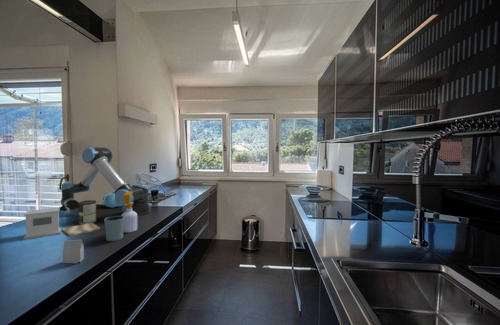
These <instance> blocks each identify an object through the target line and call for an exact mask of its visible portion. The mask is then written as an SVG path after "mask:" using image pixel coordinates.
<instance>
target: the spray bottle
mask: <svg viewBox="0 0 500 325" xmlns="http://www.w3.org/2000/svg"><path fill="white" fill-rule="evenodd" d="M132 193H133V192H126V193H125V194H124V195H123V203H124V204H126V208H125V209H126V210H125V211H124V212H123V213H122V214H121V215H120V216H124V227H123V228H124V229H123V233H133V232H135V231H137V230H138V215H137V213H136V212H134V211H132V203H134V202H130V195H131V194H132Z"/></svg>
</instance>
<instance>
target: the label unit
mask: <svg viewBox="0 0 500 325" xmlns="http://www.w3.org/2000/svg"><path fill="white" fill-rule="evenodd" d="M23 215H24V217H25V234H24V236H23V240H24V241H27V240H32V238H33V239H38V237H39V238H44V237H45V236H46V237H51V236H56V235H58V236H59V235H61V233H62V227H60V207H54V208H53V207H51V208H44V209H33V210H32V209H31V210H27V211H26V212H25V213H24V214H23ZM26 239H27V240H26Z"/></svg>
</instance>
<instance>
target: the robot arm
mask: <svg viewBox="0 0 500 325" xmlns="http://www.w3.org/2000/svg"><path fill="white" fill-rule="evenodd" d="M81 158H82V161H83V162H84V163H86V164H90V165H91V167H90V169H89V170H88V171H87V173H86V174H85V175H84V177H82V179H81V180H80V182H79V183H73V182H69V181H68V182H62V184H61V199H60V204H61V206H60V207H59V208H60V210H59V212H62V211H63V213H65V212H66V213H70V210H76V209H78V208H79V204H78V203H79V201H78V200H76V199H75V198H74V197H75V196H74V194H78V193H83V192H88V191H90V190H91V188H92V186H91V185H92V184H93V182H94V181H95V179H96V178H97V177H98V176H99V175H100V173H101V175H102V176H103V178H105V180H106V181H107V182H108V184H109V185H110V186H111V188H113V190H114V191H115V192H114V193H115V200H116V201H117V202H118V203H119V204H121V205H122V206H125V205H126V206H127V204H124V203H123V195H124V194H125V193H126V192H133V193H132V194H131V195H130V202H134V203H132V205H131V207H132V211H134V212H136V213H137V216H142V215H147V214H150V213H151V212H152V211H151V207H150V203H149V186H148V185H147V184H132V185H131V184H130V183H129V182H128V183H127V182H125V180H123V178H122V177H121V176H120V174H119V173H118V172H117V171H116V169H114V167H113V166H112V165H111V161H112V160H113V153H112V150H110V149H109V148H107V147H95V146H93V147H92V146H90V147H86V148H84V149H83V151H82V154H81Z"/></svg>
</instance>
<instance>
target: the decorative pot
mask: <svg viewBox="0 0 500 325" xmlns="http://www.w3.org/2000/svg"><path fill="white" fill-rule="evenodd" d="M114 192H115V190H113V191H112V192H110V193H107V194H106V195H103V197H102V200H103V202H102V206H105V207H106V208H110V209H114V208H116V207H118V208H119V207H121V208H122V206H123V205H121V204H119V203H118V202H117V201H116V200H115V193H114Z"/></svg>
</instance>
